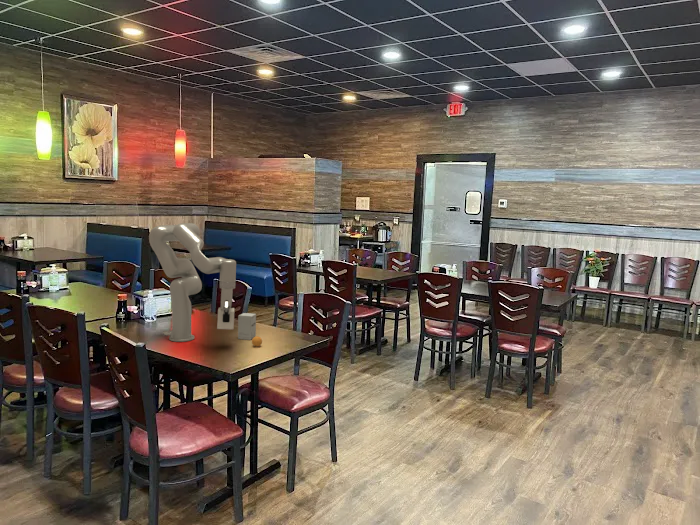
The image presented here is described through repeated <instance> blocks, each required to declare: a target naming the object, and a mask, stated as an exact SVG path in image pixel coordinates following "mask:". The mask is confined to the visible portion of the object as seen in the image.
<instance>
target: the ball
mask: <svg viewBox="0 0 700 525" xmlns="http://www.w3.org/2000/svg"><path fill="white" fill-rule="evenodd" d="M251 343H252V346H253V347H259V346H261V345H262V344H263V340H262V338H261V337H260V336H257V335H256V337H254V338H252V339H251Z"/></svg>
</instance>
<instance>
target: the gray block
mask: <svg viewBox="0 0 700 525" xmlns="http://www.w3.org/2000/svg"><path fill="white" fill-rule="evenodd" d="M223 312H224V307H223V308H222V309H221V307H218V309H217V324H216V325H217V326H216V329H217V330H234V328H235V327H234V324H235V307H231V308H230V309H229V314H230V320H229V322H223Z"/></svg>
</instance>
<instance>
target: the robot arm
mask: <svg viewBox="0 0 700 525" xmlns="http://www.w3.org/2000/svg"><path fill="white" fill-rule="evenodd" d="M200 235H201V229H200V227H199V226H198V225H197V224H196V223H193V222H188V223H178V224H169V225H168V224H166V225H165V224H164V225H163V224H162V225H158V226H155V227H153V228H151V230H150V232H149V234H148V241H149V244H150V247H151V250H152V251H153V252H154V253H155V255H156V258H157V259H158V262H159V263H160V266H161V268H162V270H163V272H164V274H165V275H166V277H168V278H170V279H174V278H175V279H174V280H172V281H171V283H170V284H169V292H170V297H171V330H169V331H167V330H165V331H162V335H163V336H166V337H167V336H169V337H168V340H169V341H171V342H177V343H178V342H179V343H181V342H183V343H184V342H190V341H193V340H194V339H195V335H193V334H192V302H191V299H190V298H189V296H193V295H196V294H198V293H200V292H201V291H202V289H203V288H202V287H203V282H202V280H201V278H200V276H199V274H198V272H197V270H196V268H197V269H198V270H199V271H200V272H201V273H204V274H206V275H210V274H217V273H219V289H221V290H220V292H221V294H220V308H221V309H222V308H224V312H223V322H229V320H230V314H229V309H230V308H232V303H233V290H235V289H236V282H237V281H236V278H237V274H236V273H237V261H236V260H235V259H231V258H229V259H228V258H225V257H222V256H216V257H209V258H208V257H206V256H205V254H204V253H203V252H202V249H203V248H204V245H205V242H204V240H203V239H202V238H201V237H200ZM167 242H168V243H169V242H179V243H180V244H181V246H184V248H185V249H187V251H188V252H189V255H190V258H191V259H189V258H187V257H181V258H178V257H177V255H176V252H175V251H174V249H173V248H172V247H171V246H170V245H169V244H167ZM195 267H196V268H195Z"/></svg>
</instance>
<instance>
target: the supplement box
mask: <svg viewBox="0 0 700 525" xmlns="http://www.w3.org/2000/svg"><path fill="white" fill-rule="evenodd" d="M237 318H238V319H237V322H238V324H237V339H238V340H245V341H246V340H247V341H252V339H253V338H254V337H256V336H257V335H256V334H257V333H256V332H257V314H256V313H250V312H249V313H248V312H243V313H241V314H239V315H238V316H237Z"/></svg>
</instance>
